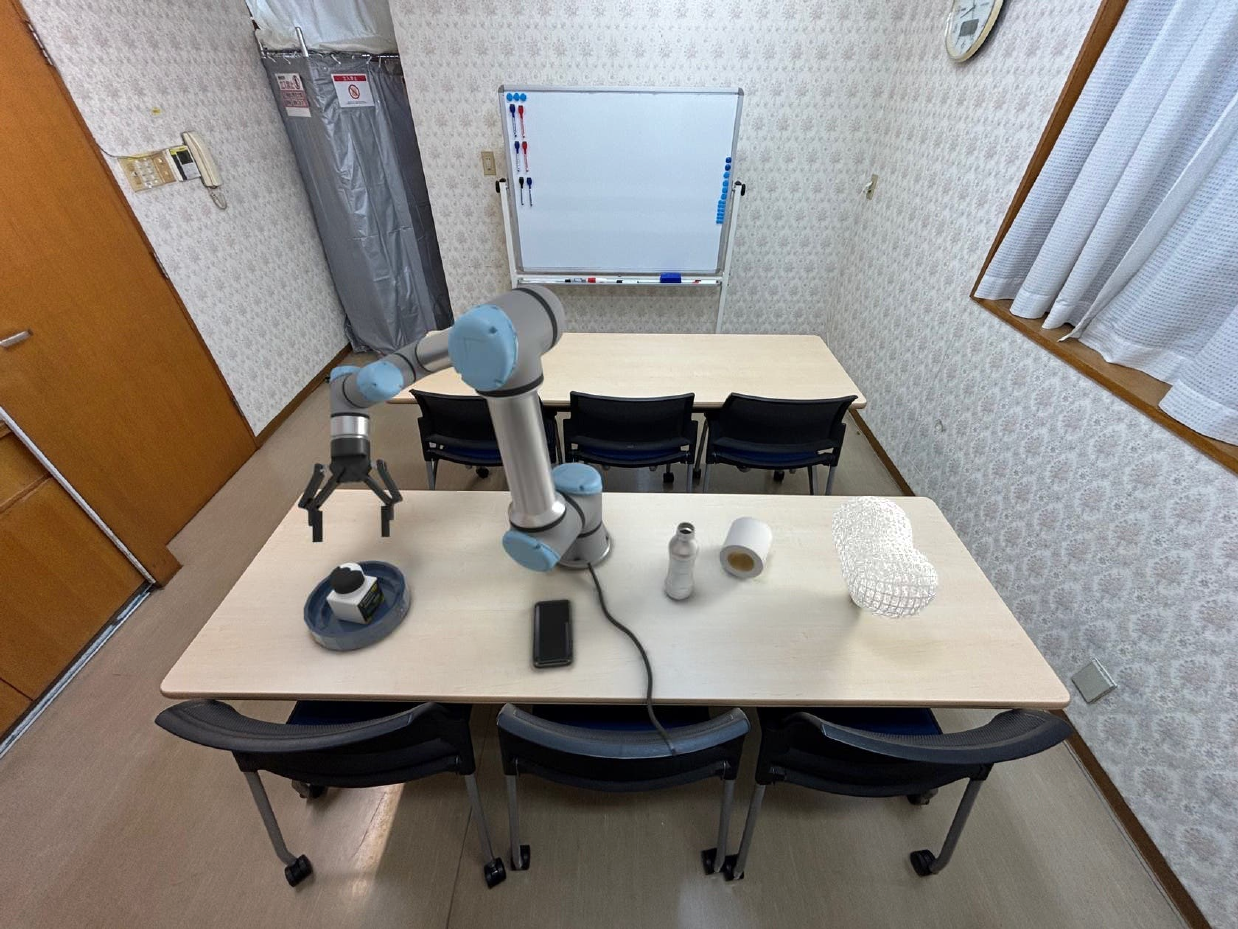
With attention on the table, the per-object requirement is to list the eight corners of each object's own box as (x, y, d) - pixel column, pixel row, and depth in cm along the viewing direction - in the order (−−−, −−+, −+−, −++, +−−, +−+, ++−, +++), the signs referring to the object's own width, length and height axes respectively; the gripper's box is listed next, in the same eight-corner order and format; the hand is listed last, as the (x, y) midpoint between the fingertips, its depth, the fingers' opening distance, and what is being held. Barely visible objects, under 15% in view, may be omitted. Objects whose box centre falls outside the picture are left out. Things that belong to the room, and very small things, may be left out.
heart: (917, 660, 101) (964, 589, 88) (837, 653, 102) (872, 582, 89) (874, 555, 123) (907, 485, 110) (809, 550, 125) (834, 481, 111)
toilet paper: (728, 541, 127) (734, 511, 121) (768, 554, 123) (776, 524, 117) (716, 569, 120) (722, 539, 113) (758, 583, 116) (767, 554, 110)
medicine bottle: (367, 625, 106) (349, 588, 98) (336, 619, 107) (316, 582, 100) (386, 598, 111) (370, 561, 104) (357, 592, 112) (339, 555, 105)
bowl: (426, 611, 109) (421, 597, 106) (333, 670, 98) (324, 656, 95) (386, 561, 120) (380, 547, 117) (298, 609, 109) (289, 595, 106)
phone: (532, 665, 98) (534, 601, 110) (533, 668, 99) (535, 604, 111) (573, 661, 99) (571, 598, 111) (573, 664, 100) (571, 602, 112)
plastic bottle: (696, 585, 116) (706, 522, 103) (686, 608, 111) (696, 544, 99) (669, 576, 118) (676, 513, 106) (659, 597, 113) (665, 534, 101)
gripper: (416, 439, 113) (418, 534, 111) (298, 446, 111) (298, 544, 108) (405, 432, 106) (407, 535, 103) (278, 440, 104) (278, 544, 101)
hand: (351, 539), depth 106 cm, fingers open, 13 cm apart
